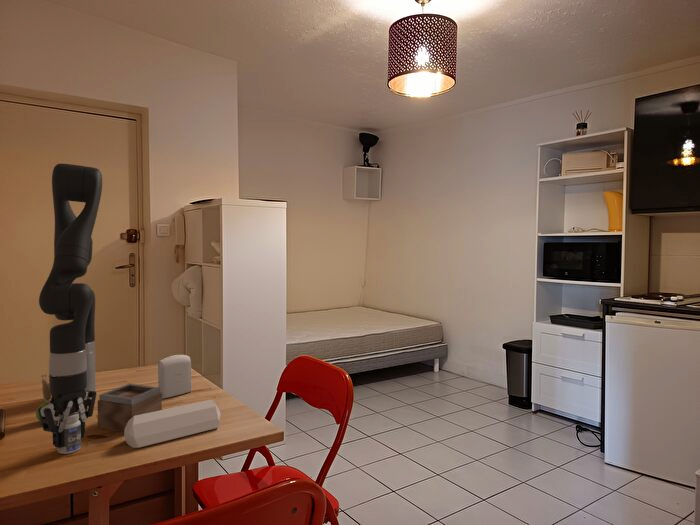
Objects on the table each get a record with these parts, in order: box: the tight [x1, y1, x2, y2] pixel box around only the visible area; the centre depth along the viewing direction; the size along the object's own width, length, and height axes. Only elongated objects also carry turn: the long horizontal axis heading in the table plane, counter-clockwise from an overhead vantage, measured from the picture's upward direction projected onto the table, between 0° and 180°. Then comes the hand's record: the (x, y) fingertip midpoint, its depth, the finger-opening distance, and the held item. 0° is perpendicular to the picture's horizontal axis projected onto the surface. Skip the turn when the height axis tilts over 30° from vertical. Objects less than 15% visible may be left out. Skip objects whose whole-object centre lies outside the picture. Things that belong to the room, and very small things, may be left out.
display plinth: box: [97, 383, 163, 432], centre depth 129 cm, size 11×11×8 cm
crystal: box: [123, 399, 221, 449], centre depth 123 cm, size 7×7×24 cm
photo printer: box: [157, 354, 192, 400], centre depth 152 cm, size 10×4×12 cm, turn 137°
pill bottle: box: [57, 412, 82, 455], centre depth 113 cm, size 5×5×8 cm
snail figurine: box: [35, 374, 54, 422], centre depth 129 cm, size 5×6×12 cm
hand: (69, 441), depth 113 cm, fingers closed on pill bottle, 4 cm apart
